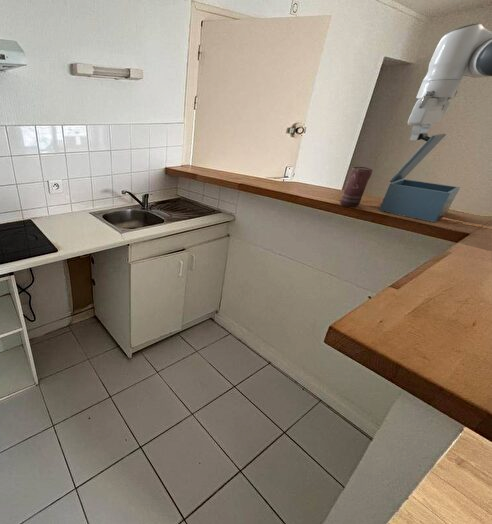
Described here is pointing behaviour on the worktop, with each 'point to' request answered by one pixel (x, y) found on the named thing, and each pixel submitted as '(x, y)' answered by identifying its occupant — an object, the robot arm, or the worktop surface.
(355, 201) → the can
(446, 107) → the robot arm
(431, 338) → the worktop surface
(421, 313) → the worktop surface
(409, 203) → the blue hinged box
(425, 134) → the blue box lid
